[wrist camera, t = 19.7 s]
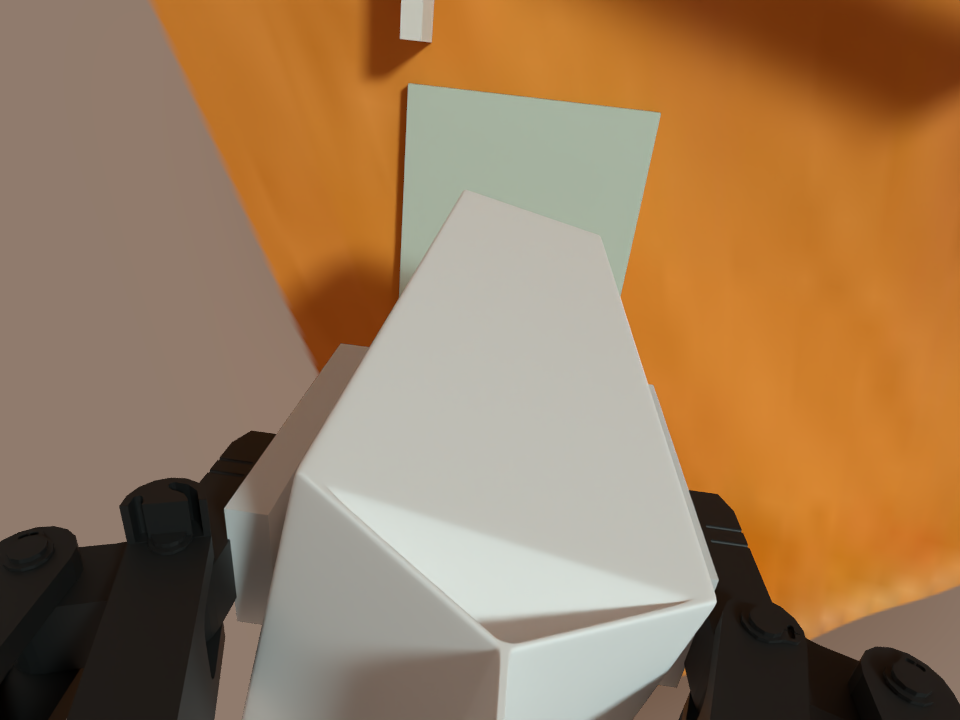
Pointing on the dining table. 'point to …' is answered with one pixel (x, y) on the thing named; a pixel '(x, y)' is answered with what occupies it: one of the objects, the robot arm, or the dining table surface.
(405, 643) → the milk
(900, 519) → the dining table surface
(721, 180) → the dining table surface
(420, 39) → the bracket
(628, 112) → the mat
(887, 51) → the dining table surface
